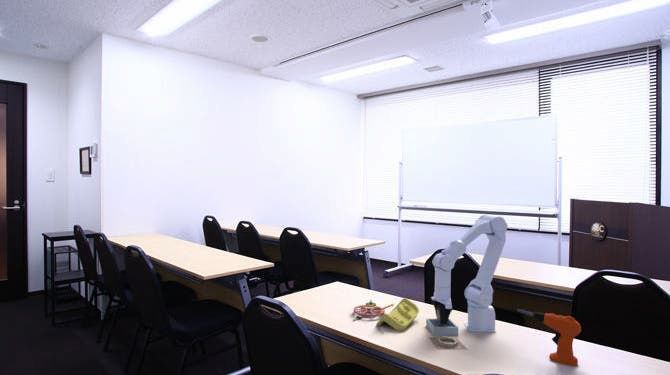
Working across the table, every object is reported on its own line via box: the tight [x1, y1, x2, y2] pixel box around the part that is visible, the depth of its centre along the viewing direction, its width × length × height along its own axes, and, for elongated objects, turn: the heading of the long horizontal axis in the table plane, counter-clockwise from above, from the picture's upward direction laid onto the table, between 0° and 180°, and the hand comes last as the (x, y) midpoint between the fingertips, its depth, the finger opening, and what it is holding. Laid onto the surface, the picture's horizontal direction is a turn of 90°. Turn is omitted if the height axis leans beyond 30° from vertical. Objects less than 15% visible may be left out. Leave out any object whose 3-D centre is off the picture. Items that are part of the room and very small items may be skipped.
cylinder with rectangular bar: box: [436, 308, 448, 327], centre depth 141 cm, size 4×4×7 cm
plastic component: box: [376, 297, 420, 332], centre depth 150 cm, size 20×7×10 cm
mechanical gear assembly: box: [352, 299, 395, 322], centre depth 161 cm, size 30×4×15 cm
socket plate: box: [428, 335, 468, 351], centre depth 129 cm, size 10×10×1 cm
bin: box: [425, 318, 459, 336], centre depth 141 cm, size 9×9×3 cm
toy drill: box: [516, 308, 582, 367], centre depth 121 cm, size 5×19×15 cm, turn 54°
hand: (441, 322), depth 141 cm, fingers closed on cylinder with rectangular bar, 4 cm apart
